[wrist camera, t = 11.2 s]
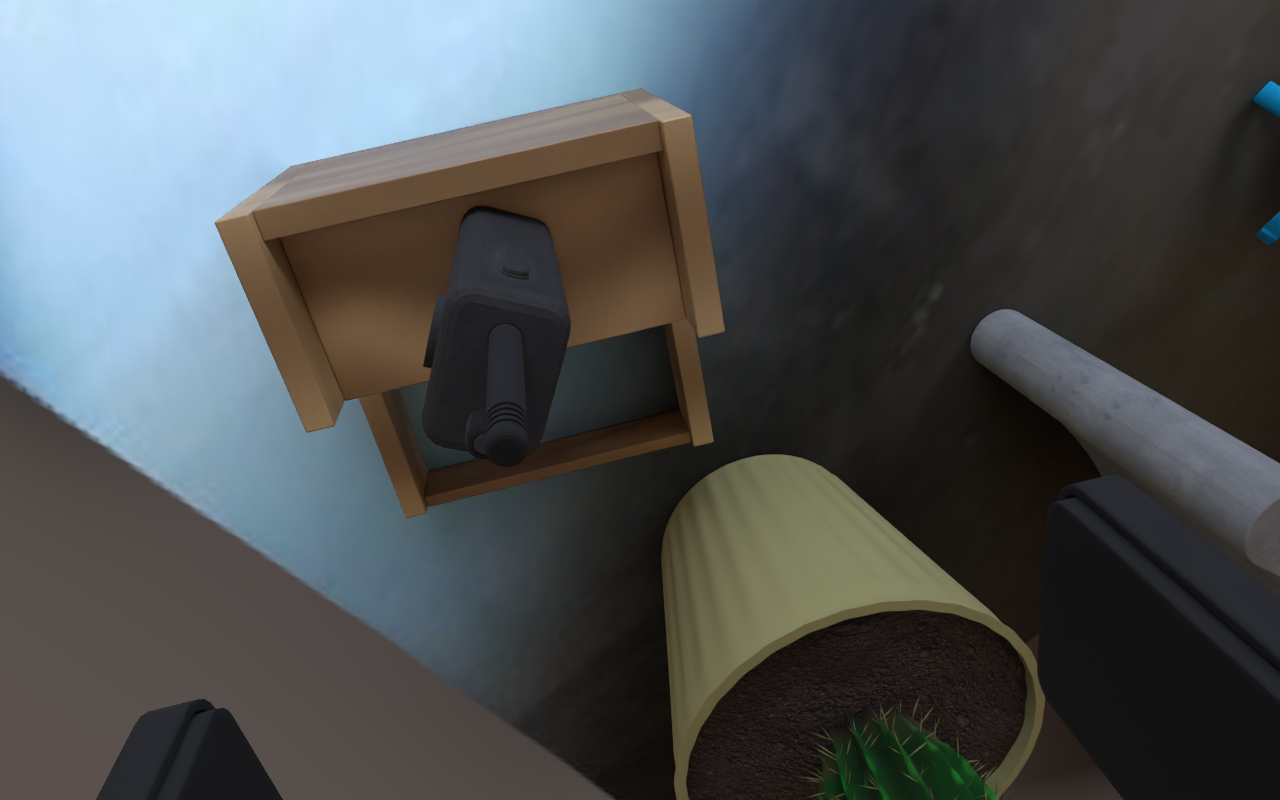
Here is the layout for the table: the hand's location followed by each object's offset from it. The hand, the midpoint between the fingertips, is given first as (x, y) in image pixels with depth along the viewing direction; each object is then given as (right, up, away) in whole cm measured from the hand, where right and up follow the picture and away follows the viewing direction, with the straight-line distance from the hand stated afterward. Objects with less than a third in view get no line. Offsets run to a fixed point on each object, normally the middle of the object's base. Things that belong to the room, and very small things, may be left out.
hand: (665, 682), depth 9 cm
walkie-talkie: (-5, +8, +19) cm, 22 cm away
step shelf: (-6, +8, +28) cm, 30 cm away
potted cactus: (+6, -5, +36) cm, 37 cm away
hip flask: (+24, +3, +35) cm, 43 cm away
